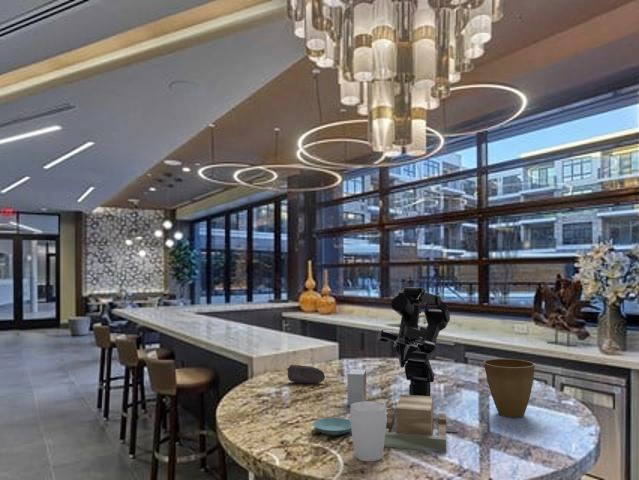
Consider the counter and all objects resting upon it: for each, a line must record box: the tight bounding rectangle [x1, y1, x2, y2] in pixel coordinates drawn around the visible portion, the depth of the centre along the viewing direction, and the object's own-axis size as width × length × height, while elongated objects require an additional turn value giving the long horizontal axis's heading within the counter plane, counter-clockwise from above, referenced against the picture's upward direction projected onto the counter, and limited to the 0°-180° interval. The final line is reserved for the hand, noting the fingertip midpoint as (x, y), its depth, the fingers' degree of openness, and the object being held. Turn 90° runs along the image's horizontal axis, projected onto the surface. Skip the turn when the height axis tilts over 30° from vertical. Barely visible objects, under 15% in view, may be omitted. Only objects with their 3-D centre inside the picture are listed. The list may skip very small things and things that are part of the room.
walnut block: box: [395, 394, 434, 436], centre depth 131 cm, size 14×9×9 cm, turn 165°
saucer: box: [312, 417, 352, 436], centre depth 134 cm, size 12×12×2 cm
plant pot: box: [483, 358, 536, 419], centre depth 149 cm, size 15×15×16 cm
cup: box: [349, 400, 387, 463], centre depth 116 cm, size 9×9×12 cm
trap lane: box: [384, 409, 458, 453], centre depth 133 cm, size 26×23×3 cm
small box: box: [347, 368, 367, 407], centre depth 163 cm, size 8×6×10 cm
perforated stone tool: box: [286, 364, 326, 384], centre depth 191 cm, size 15×5×7 cm, turn 77°
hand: (402, 367), depth 156 cm, fingers closed
